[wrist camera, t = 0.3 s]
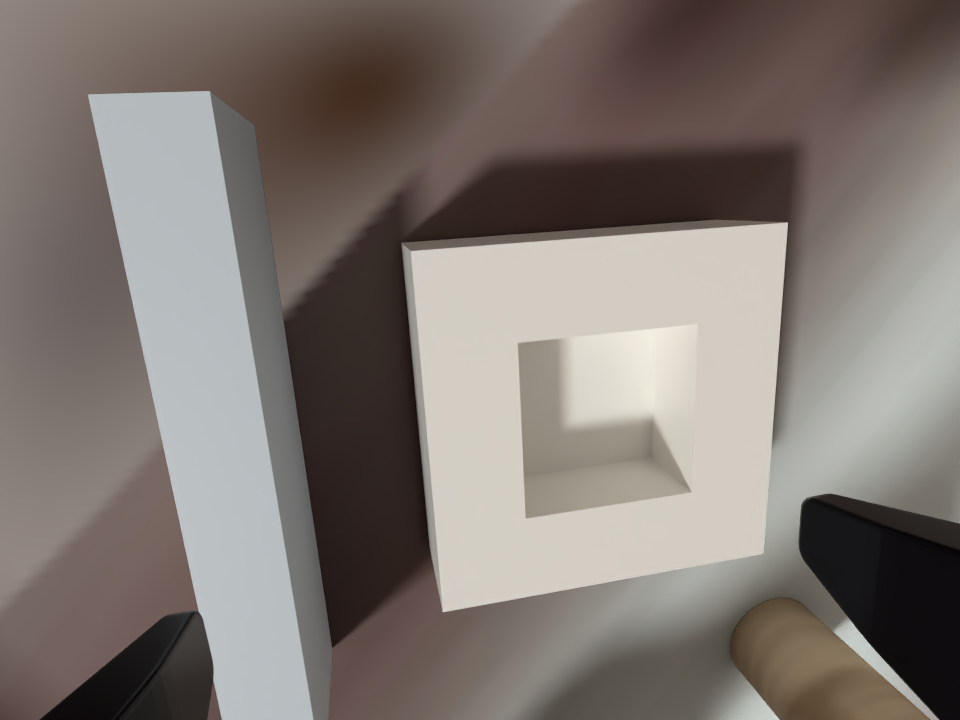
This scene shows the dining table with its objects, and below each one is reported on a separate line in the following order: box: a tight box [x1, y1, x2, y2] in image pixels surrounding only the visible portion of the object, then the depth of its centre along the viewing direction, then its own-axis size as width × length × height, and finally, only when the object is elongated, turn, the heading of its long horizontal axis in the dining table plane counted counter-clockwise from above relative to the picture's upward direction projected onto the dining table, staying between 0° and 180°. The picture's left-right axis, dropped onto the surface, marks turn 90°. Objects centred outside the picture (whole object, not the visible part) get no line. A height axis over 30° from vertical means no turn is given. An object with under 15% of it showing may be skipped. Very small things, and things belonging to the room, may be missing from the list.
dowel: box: [730, 598, 930, 720], centre depth 25 cm, size 4×4×9 cm
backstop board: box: [88, 91, 332, 720], centre depth 19 cm, size 20×2×6 cm, turn 3°
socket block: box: [401, 220, 788, 612], centre depth 21 cm, size 12×12×4 cm
